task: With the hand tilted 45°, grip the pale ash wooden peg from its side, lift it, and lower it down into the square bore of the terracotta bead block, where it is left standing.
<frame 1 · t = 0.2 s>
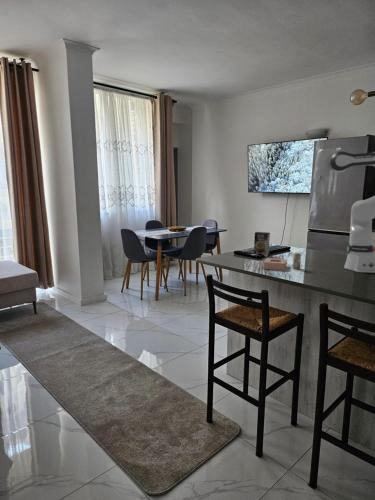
hand: (317, 201, 199), 38 cm above the table, tool pointing down, fingers open, 8 cm apart
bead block: (275, 267, 202), on the table
ash peg: (296, 268, 199), on the table
coffee box: (261, 256, 236), on the table
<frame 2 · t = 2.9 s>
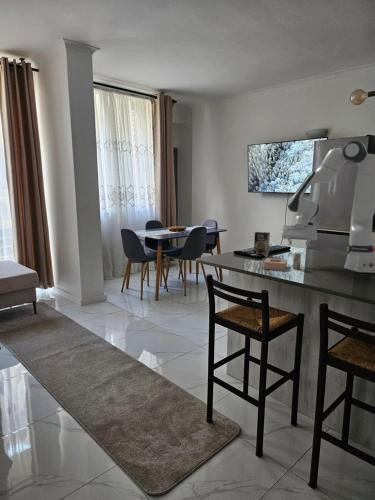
hand: (298, 244, 205), 13 cm above the table, tool tilted 45°, fingers open, 8 cm apart
nothing on the table moved.
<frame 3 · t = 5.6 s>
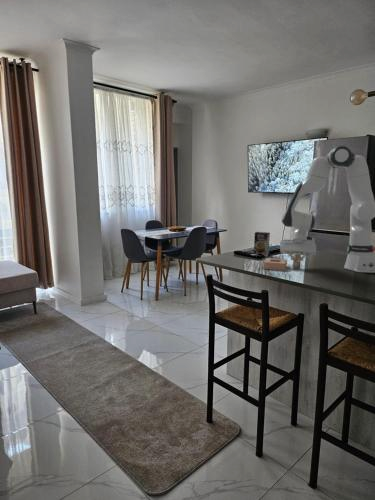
hand: (296, 259, 198), 5 cm above the table, tool tilted 45°, fingers closed on ash peg, 4 cm apart
ash peg: (296, 268, 199), on the table, touching gripper
everything else where it was.
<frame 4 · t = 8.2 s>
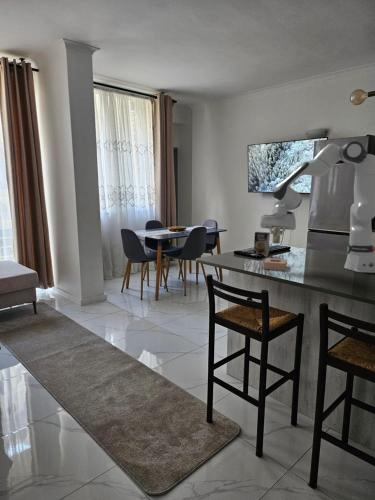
hand: (276, 233, 198), 20 cm above the table, tool tilted 45°, fingers closed on ash peg, 4 cm apart
ash peg: (276, 242, 200), point 15 cm above the table, touching gripper
everything else where it was.
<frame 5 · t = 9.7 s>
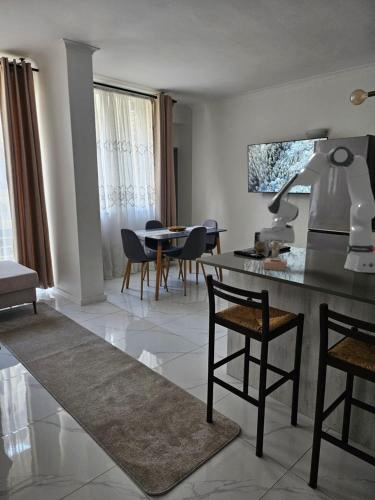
hand: (275, 247, 200), 12 cm above the table, tool tilted 45°, fingers closed on ash peg, 4 cm apart
ash peg: (275, 256, 201), point 7 cm above the table, touching gripper
everything else where it was.
when the fingers open (7 cm above the table, at t = 11.0 s): ash peg drops 2 cm, resting in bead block.
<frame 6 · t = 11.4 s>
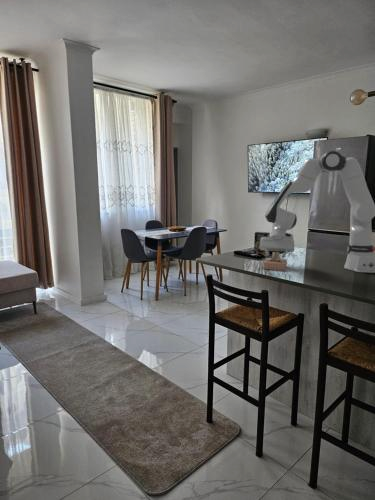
hand: (275, 256, 201), 7 cm above the table, tool tilted 45°, fingers open, 8 cm apart
ash peg: (275, 267, 202), resting in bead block
everything else where it was.
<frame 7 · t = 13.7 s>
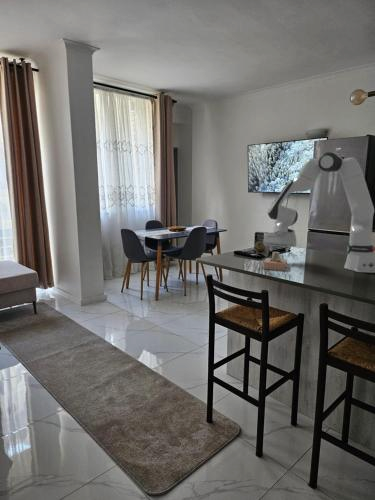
hand: (278, 251, 212), 8 cm above the table, tool tilted 45°, fingers open, 8 cm apart
nothing on the table moved.
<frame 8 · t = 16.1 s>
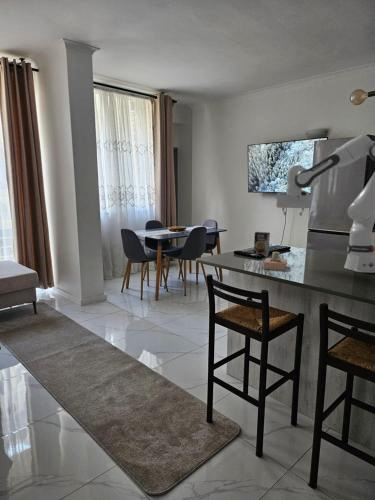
hand: (292, 215, 214), 29 cm above the table, tool pointing down, fingers open, 8 cm apart
nothing on the table moved.
at the end: ash peg 0.1 cm off-centre on the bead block, point 0.0 cm above the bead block's base; ash peg tilted 0°; the gripper is holding nothing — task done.
